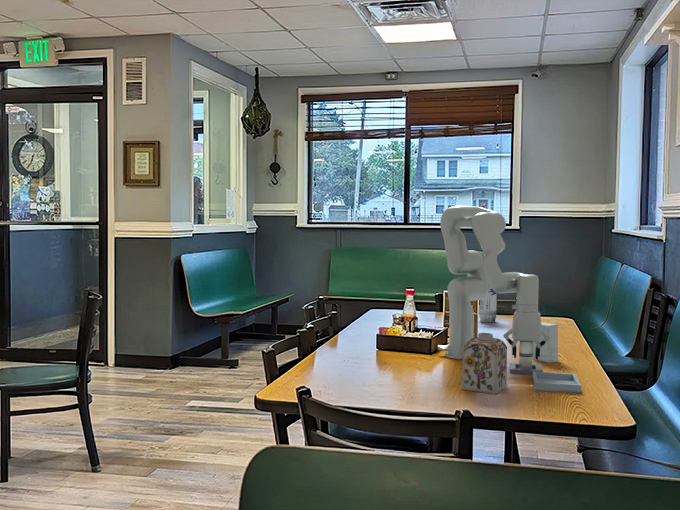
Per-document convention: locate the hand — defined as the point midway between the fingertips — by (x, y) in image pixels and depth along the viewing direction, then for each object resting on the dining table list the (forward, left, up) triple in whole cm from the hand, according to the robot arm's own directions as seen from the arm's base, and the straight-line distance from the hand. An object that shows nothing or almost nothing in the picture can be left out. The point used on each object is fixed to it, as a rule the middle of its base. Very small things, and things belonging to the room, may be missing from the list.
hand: (525, 357), depth 239 cm
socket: (0, +1, -5) cm, 5 cm away
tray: (+9, -17, -5) cm, 20 cm away
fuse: (0, 0, -5) cm, 5 cm away
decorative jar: (-14, -27, -6) cm, 31 cm away
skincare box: (+8, +21, -6) cm, 23 cm away
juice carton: (-15, +116, -6) cm, 117 cm away
